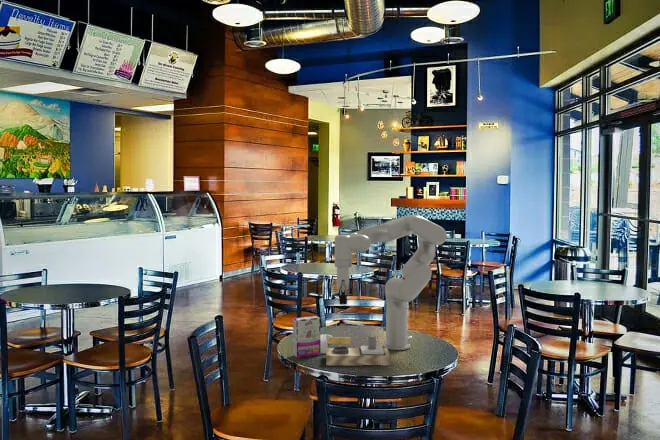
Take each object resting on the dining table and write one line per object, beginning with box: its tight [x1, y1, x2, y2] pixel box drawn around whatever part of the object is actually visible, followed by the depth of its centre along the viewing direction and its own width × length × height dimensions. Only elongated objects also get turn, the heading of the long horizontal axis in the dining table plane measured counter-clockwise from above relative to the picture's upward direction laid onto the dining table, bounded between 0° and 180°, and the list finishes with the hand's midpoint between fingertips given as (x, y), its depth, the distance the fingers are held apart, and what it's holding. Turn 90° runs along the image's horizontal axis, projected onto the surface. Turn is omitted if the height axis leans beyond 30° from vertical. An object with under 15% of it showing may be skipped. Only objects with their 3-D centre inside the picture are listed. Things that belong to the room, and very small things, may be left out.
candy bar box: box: [292, 315, 321, 359], centre depth 254 cm, size 11×5×16 cm, turn 116°
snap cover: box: [360, 335, 384, 354], centre depth 246 cm, size 9×9×6 cm
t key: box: [327, 336, 352, 346], centre depth 262 cm, size 10×4×6 cm, turn 91°
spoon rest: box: [320, 333, 333, 355], centre depth 269 cm, size 24×12×7 cm, turn 8°
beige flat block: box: [325, 345, 391, 367], centre depth 246 cm, size 26×12×6 cm, turn 91°
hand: (343, 302), depth 260 cm, fingers open, 9 cm apart
